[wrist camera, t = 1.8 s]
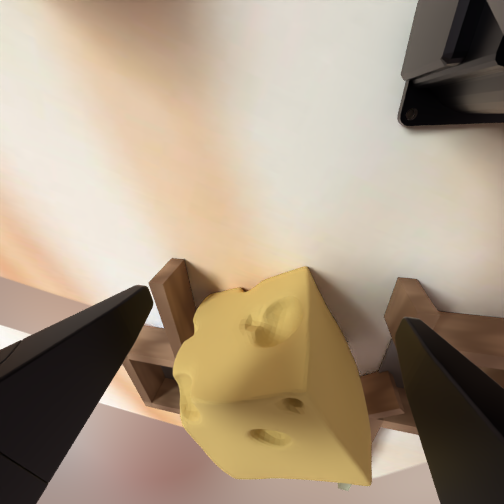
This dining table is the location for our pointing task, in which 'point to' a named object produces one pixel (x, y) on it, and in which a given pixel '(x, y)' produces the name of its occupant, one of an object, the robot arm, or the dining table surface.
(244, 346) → the cheese
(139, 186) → the dining table surface
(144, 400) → the wooden frame
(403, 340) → the robot arm
